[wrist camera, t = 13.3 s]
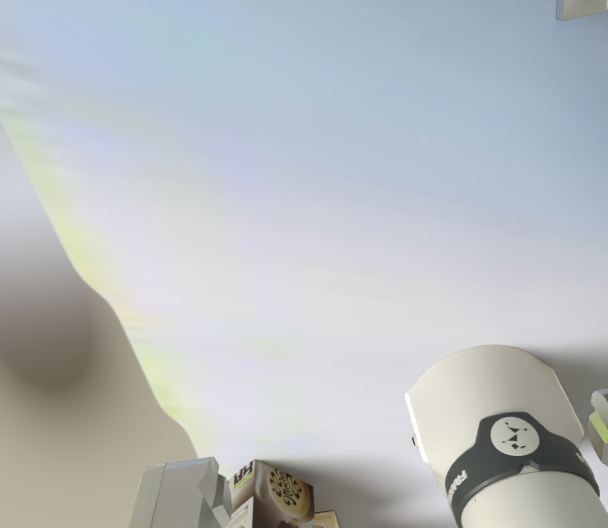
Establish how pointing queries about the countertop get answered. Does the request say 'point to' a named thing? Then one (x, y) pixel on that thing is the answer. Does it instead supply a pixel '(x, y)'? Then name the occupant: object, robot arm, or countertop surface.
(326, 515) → the coffeecake box
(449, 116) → the countertop surface
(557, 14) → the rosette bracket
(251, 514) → the coffee box
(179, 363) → the countertop surface
